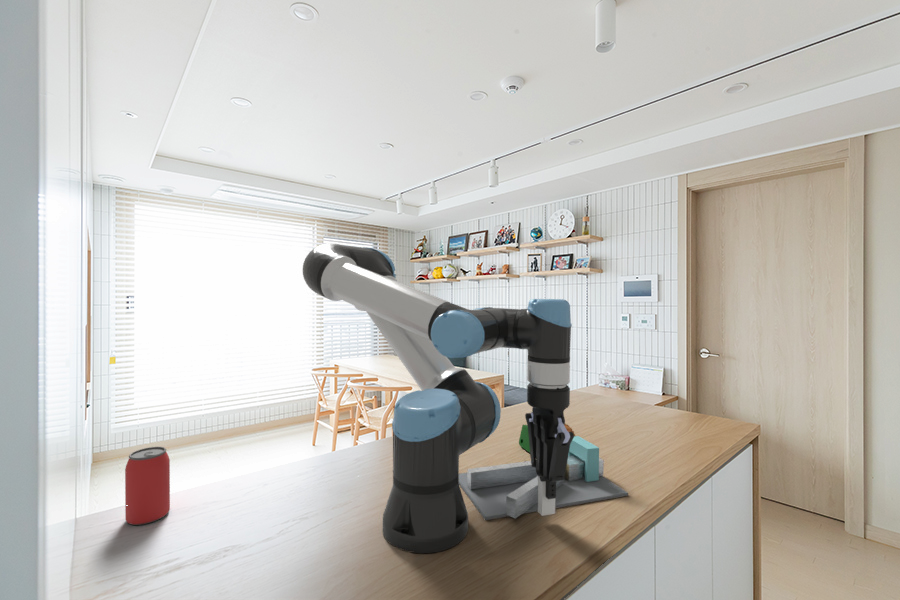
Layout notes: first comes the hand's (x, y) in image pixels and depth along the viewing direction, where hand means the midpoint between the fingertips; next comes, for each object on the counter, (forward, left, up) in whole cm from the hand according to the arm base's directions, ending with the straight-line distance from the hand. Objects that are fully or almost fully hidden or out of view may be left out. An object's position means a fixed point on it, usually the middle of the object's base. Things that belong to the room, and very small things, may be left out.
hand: (546, 512), depth 75 cm
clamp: (+16, +30, -2) cm, 34 cm away
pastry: (+28, +39, -2) cm, 48 cm away
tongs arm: (+2, +7, -1) cm, 7 cm away
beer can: (-69, +23, -2) cm, 73 cm away
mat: (+6, +13, -2) cm, 14 cm away
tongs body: (+6, +14, -1) cm, 15 cm away
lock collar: (+18, +14, -1) cm, 22 cm away
